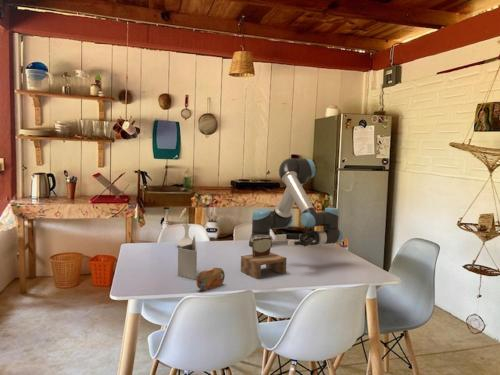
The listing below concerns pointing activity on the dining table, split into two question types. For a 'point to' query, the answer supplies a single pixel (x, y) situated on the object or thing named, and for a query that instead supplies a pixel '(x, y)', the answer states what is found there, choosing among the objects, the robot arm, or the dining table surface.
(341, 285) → the dining table surface
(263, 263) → the walnut shelf
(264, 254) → the food container
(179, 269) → the planter
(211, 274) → the tin
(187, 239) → the flower in vase
